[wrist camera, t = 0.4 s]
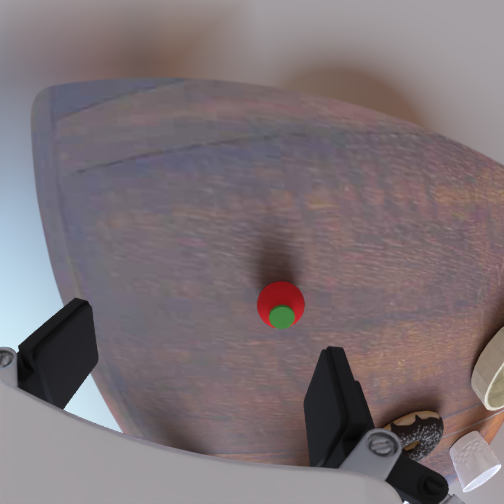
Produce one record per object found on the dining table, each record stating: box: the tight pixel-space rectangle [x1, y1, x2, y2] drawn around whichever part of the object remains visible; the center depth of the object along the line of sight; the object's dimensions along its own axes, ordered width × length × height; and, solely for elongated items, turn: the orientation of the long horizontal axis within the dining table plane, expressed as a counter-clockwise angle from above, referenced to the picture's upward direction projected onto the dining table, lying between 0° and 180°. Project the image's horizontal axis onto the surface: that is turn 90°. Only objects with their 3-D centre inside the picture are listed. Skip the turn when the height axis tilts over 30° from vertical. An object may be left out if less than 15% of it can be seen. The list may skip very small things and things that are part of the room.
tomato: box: [257, 281, 305, 329], centre depth 25 cm, size 4×4×4 cm
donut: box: [383, 411, 444, 462], centre depth 31 cm, size 11×12×4 cm
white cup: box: [449, 431, 501, 492], centre depth 29 cm, size 8×8×10 cm
